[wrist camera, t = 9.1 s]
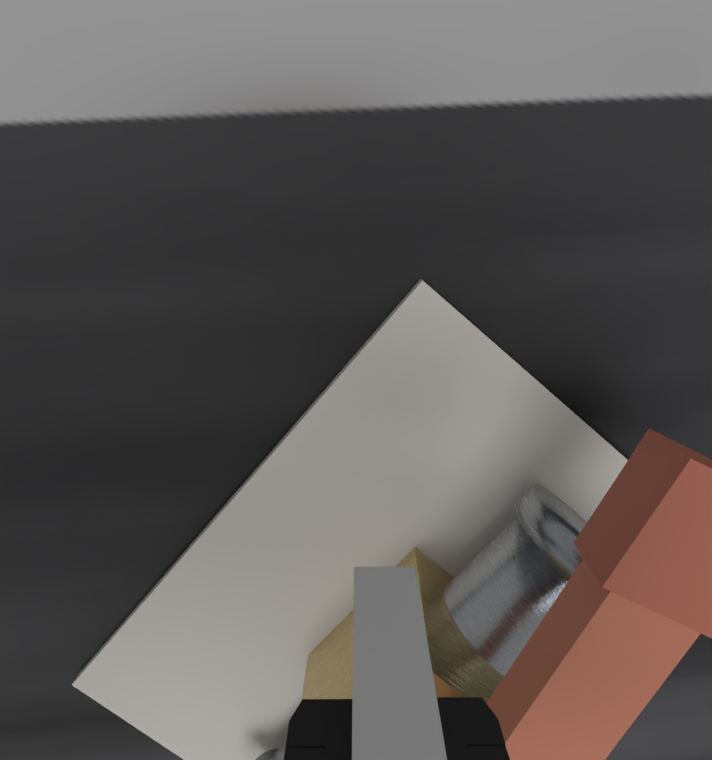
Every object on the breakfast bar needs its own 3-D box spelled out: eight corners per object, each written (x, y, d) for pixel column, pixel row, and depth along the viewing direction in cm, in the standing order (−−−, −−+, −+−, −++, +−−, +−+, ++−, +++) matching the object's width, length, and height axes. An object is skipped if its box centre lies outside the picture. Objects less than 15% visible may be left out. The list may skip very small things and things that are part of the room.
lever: (630, 419, 16) (669, 447, 14) (774, 490, 17) (834, 529, 14) (350, 853, 20) (347, 925, 18) (470, 901, 21) (481, 977, 19)
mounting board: (81, 670, 31) (71, 684, 30) (420, 278, 25) (422, 280, 24) (367, 863, 34) (367, 882, 33) (729, 549, 28) (742, 560, 27)
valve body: (233, 730, 30) (179, 926, 22) (506, 453, 26) (571, 561, 18) (350, 810, 31) (342, 1027, 23) (630, 557, 27) (748, 707, 19)
